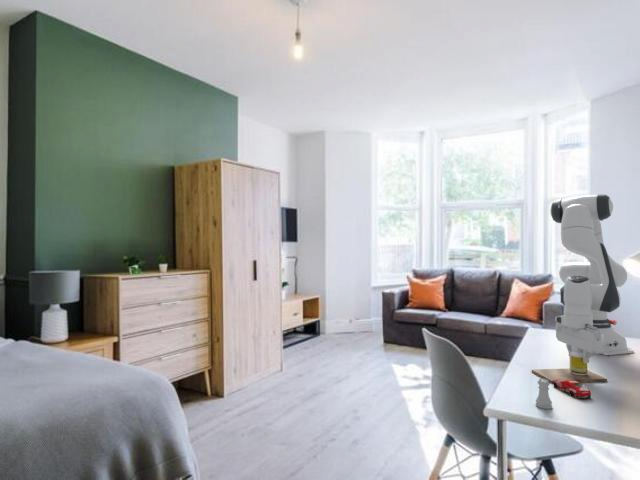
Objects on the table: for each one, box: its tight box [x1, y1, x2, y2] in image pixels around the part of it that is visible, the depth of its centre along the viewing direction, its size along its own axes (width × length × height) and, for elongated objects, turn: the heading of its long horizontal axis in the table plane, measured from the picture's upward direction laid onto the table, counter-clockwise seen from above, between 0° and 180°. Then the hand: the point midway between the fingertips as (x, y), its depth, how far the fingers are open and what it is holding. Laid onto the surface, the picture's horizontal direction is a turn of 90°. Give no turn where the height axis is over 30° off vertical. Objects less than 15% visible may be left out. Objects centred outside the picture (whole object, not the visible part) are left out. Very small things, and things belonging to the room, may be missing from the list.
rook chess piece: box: [535, 377, 553, 410], centre depth 121 cm, size 4×4×8 cm
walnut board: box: [531, 367, 608, 385], centre depth 146 cm, size 20×12×1 cm, turn 93°
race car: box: [552, 379, 592, 399], centre depth 132 cm, size 13×5×4 cm, turn 4°
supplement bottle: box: [569, 346, 588, 376], centre depth 146 cm, size 5×5×10 cm
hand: (578, 359), depth 146 cm, fingers closed on supplement bottle, 5 cm apart
